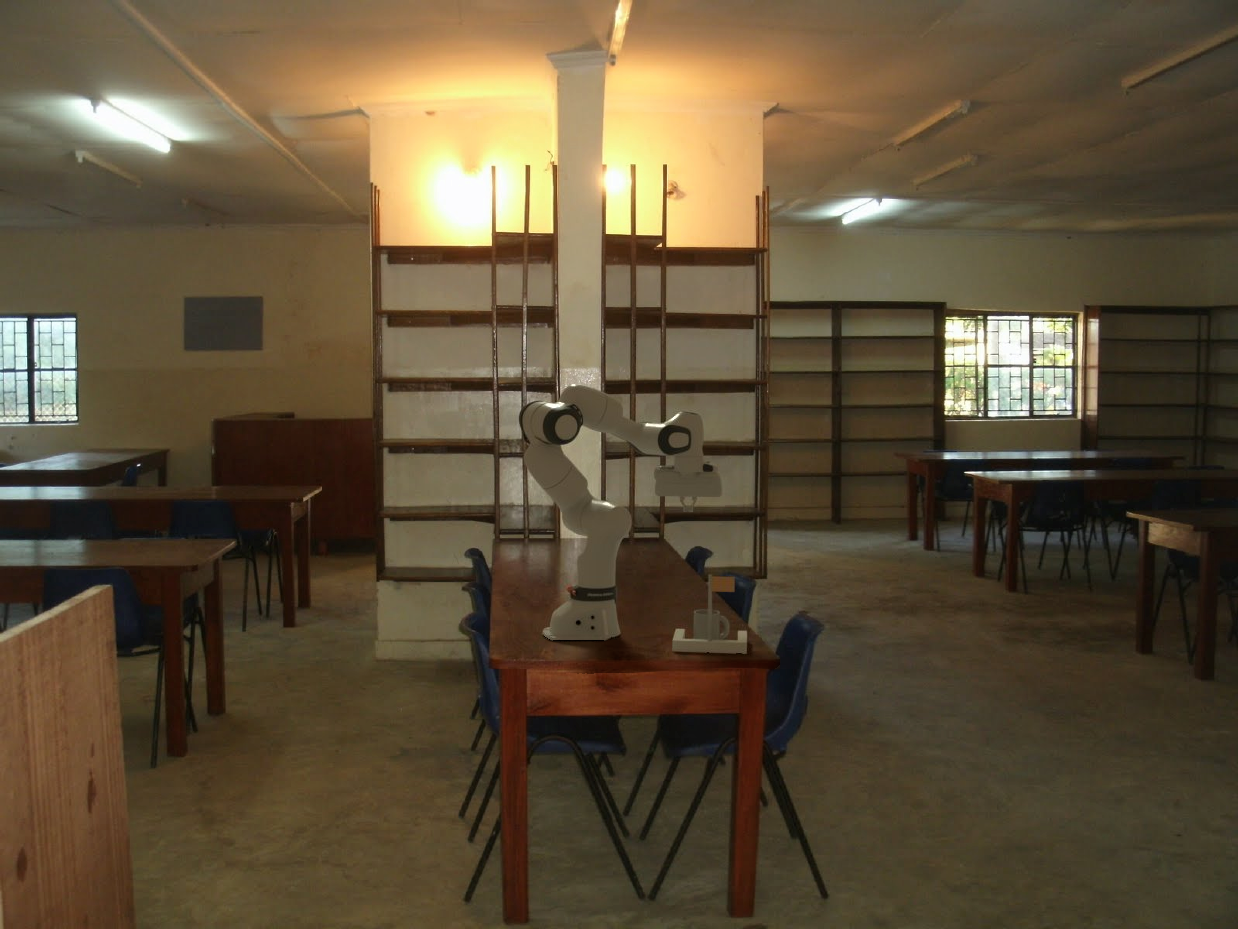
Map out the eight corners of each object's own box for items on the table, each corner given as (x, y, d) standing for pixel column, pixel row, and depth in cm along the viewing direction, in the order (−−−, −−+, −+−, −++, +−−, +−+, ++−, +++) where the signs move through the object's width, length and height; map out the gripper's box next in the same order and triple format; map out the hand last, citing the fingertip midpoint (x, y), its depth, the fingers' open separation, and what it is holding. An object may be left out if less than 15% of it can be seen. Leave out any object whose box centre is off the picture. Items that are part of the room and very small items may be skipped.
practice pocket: (675, 639, 306) (676, 565, 305) (746, 641, 304) (747, 567, 303) (672, 651, 292) (672, 574, 291) (746, 653, 290) (747, 576, 288)
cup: (692, 640, 305) (692, 609, 304) (727, 640, 305) (728, 609, 304) (694, 646, 298) (695, 614, 297) (730, 646, 298) (731, 614, 297)
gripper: (653, 466, 322) (652, 512, 323) (722, 466, 320) (721, 513, 321) (655, 464, 328) (654, 509, 329) (722, 465, 326) (722, 511, 327)
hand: (688, 511), depth 325 cm, fingers closed
